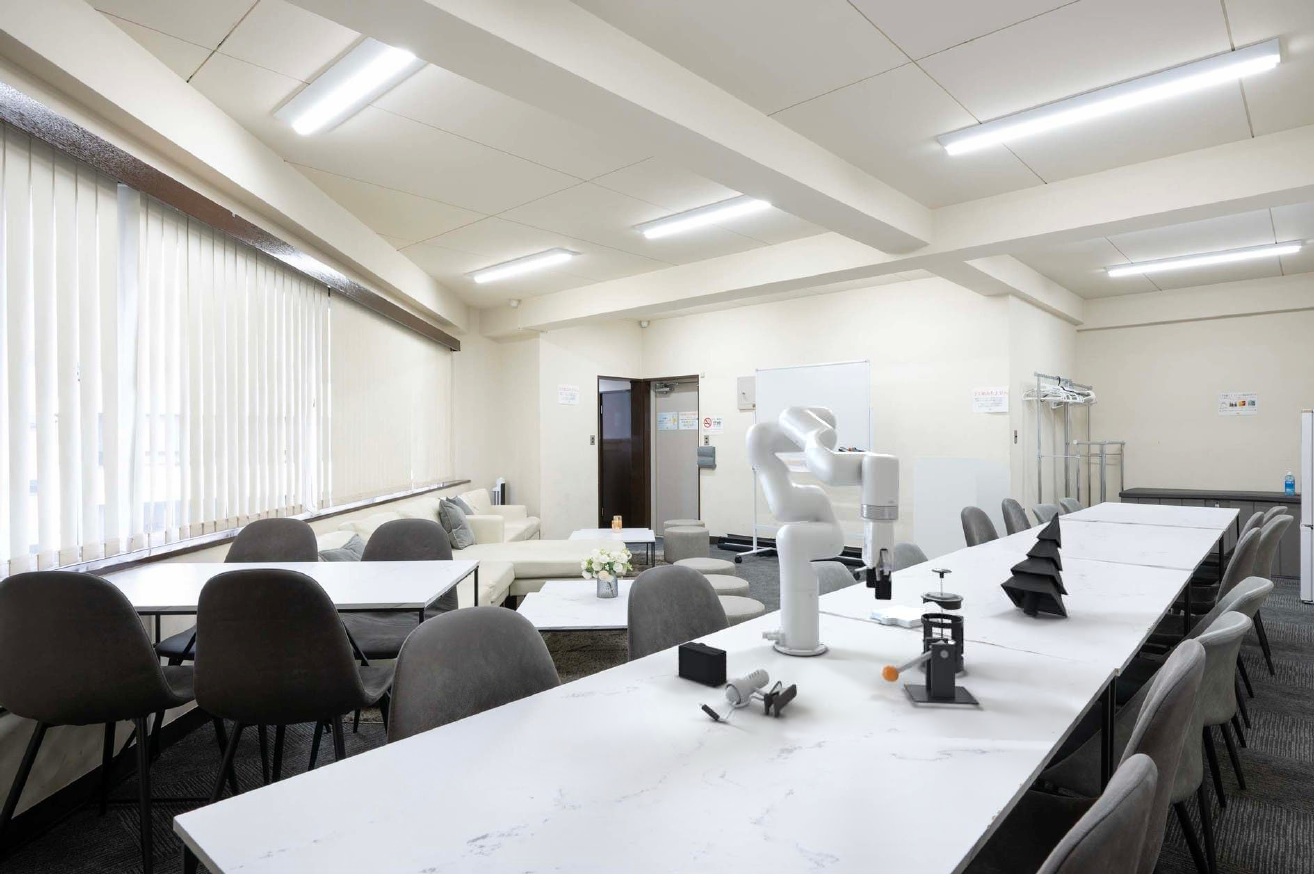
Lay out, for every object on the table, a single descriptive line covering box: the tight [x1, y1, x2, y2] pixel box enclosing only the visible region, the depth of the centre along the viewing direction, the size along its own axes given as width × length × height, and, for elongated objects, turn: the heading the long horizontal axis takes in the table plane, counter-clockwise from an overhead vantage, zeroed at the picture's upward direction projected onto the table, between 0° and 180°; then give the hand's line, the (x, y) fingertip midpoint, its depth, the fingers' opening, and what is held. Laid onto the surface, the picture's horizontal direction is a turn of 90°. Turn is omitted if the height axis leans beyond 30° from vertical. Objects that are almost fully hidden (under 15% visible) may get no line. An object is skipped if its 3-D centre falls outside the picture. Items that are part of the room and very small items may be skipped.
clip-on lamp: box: [698, 668, 798, 722], centre depth 132 cm, size 12×6×18 cm
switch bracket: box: [903, 636, 980, 706], centre depth 138 cm, size 12×9×12 cm
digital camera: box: [677, 641, 728, 688], centre depth 150 cm, size 10×5×7 cm, turn 47°
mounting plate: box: [871, 604, 939, 629], centre depth 199 cm, size 18×13×2 cm
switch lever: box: [882, 640, 944, 683], centre depth 139 cm, size 14×3×3 cm, turn 84°
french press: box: [920, 568, 965, 674], centre depth 155 cm, size 12×9×23 cm
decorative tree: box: [999, 511, 1069, 618], centre depth 207 cm, size 15×15×35 cm
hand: (878, 593), depth 144 cm, fingers open, 9 cm apart
